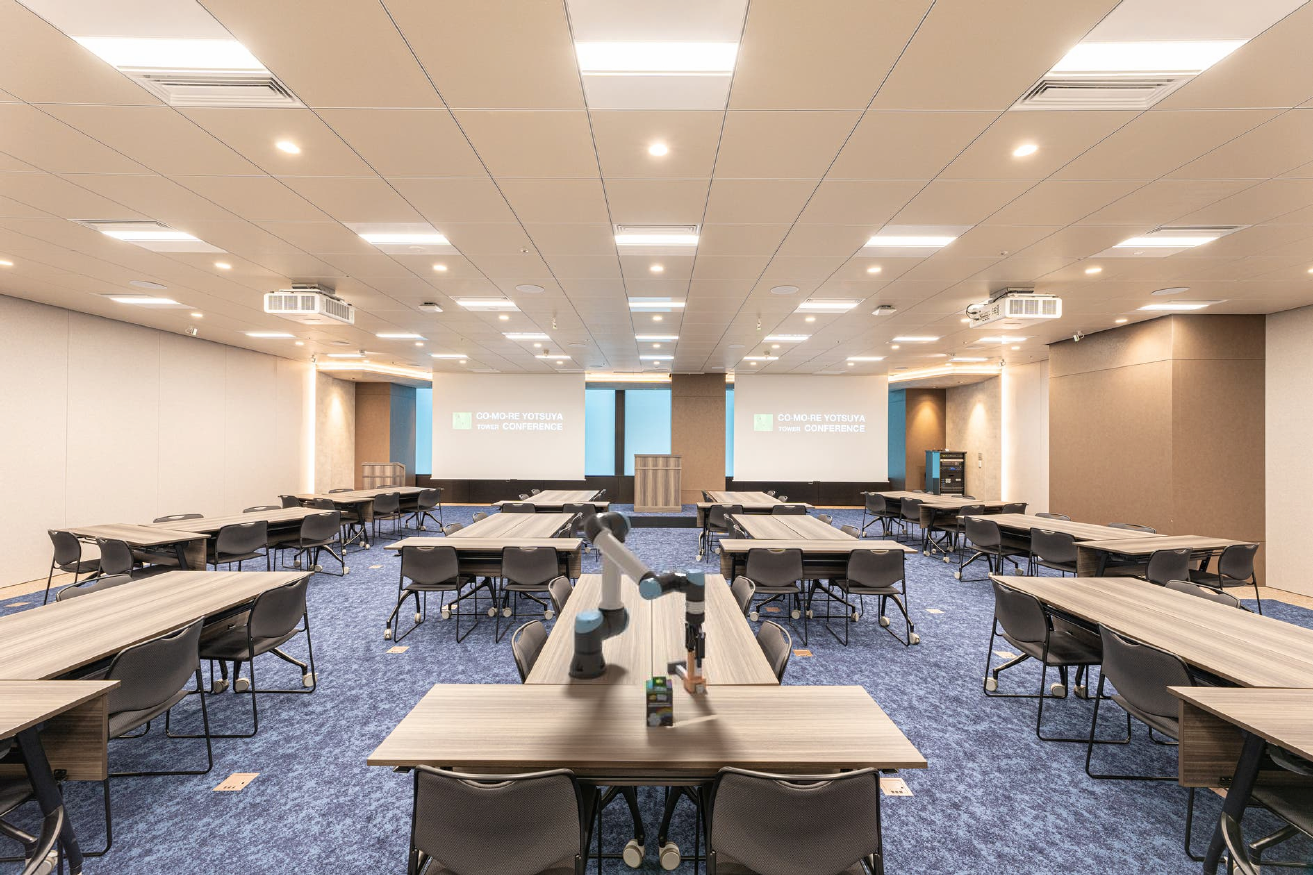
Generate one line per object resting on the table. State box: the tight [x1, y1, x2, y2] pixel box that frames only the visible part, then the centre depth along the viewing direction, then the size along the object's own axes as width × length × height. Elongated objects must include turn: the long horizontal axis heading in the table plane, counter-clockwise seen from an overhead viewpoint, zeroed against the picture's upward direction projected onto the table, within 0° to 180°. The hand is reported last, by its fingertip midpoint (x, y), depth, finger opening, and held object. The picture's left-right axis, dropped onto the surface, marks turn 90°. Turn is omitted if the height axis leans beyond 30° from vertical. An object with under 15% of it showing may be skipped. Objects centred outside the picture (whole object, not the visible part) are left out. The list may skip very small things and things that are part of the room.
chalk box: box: [645, 676, 674, 727], centre depth 167 cm, size 9×9×15 cm
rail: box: [666, 659, 704, 695], centre depth 194 cm, size 25×12×4 cm, turn 22°
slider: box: [682, 651, 707, 693], centre depth 189 cm, size 6×7×13 cm
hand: (694, 672), depth 189 cm, fingers open, 5 cm apart
